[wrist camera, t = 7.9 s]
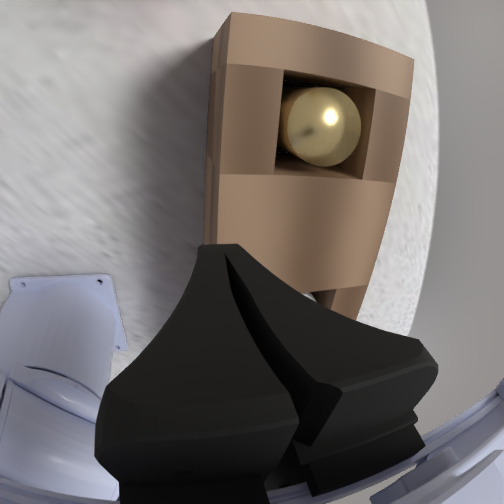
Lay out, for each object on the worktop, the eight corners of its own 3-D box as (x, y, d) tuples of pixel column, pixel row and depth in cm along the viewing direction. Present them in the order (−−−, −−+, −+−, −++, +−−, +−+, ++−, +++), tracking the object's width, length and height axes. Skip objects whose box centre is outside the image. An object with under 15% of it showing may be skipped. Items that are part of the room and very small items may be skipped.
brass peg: (254, 145, 18) (283, 164, 14) (259, 84, 16) (292, 81, 12) (311, 148, 19) (354, 169, 15) (318, 92, 17) (365, 95, 13)
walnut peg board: (205, 325, 25) (216, 381, 20) (213, 37, 14) (231, 11, 9) (312, 313, 27) (340, 359, 22) (356, 61, 17) (414, 59, 12)
